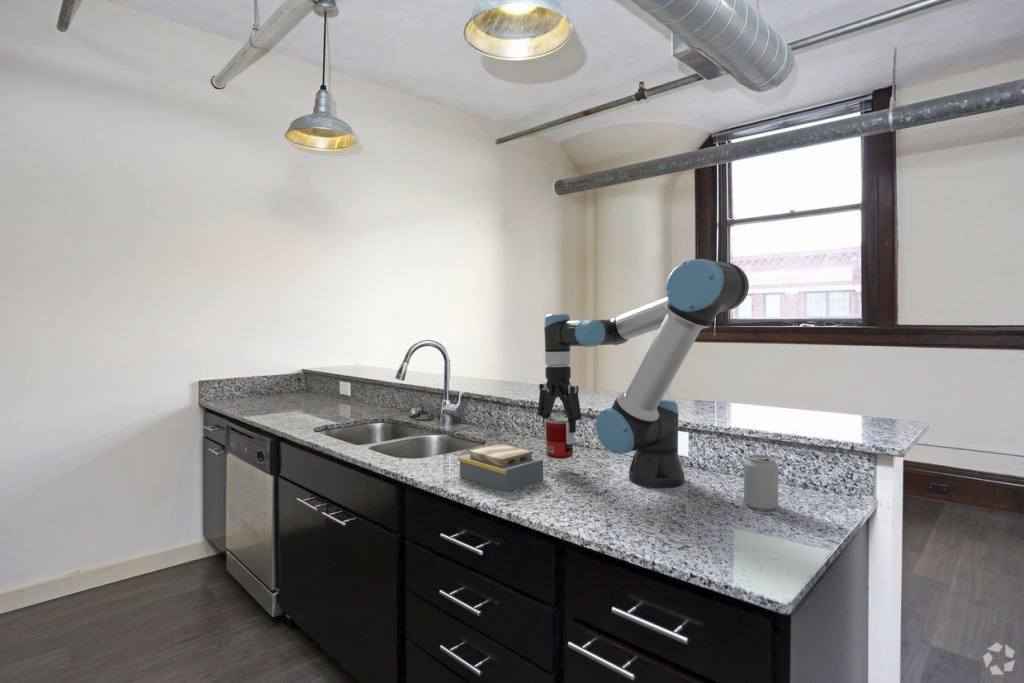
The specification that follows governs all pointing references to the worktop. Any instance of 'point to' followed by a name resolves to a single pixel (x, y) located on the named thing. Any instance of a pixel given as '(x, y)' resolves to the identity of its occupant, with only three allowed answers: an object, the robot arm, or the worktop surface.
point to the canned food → (557, 438)
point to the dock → (502, 473)
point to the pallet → (500, 454)
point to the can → (761, 482)
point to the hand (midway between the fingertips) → (559, 441)
